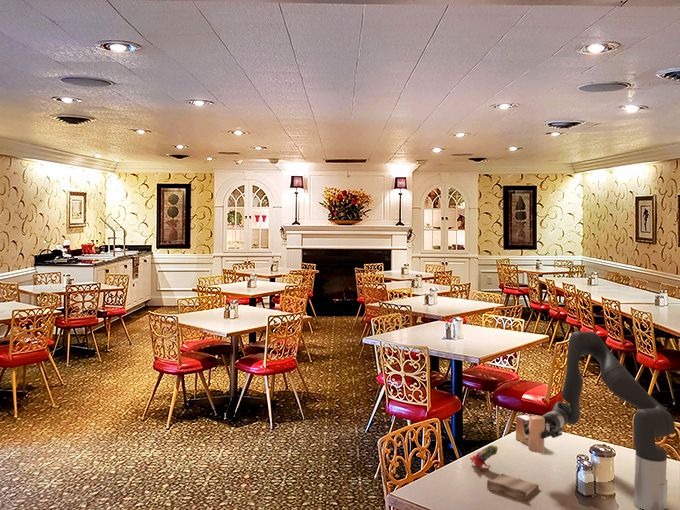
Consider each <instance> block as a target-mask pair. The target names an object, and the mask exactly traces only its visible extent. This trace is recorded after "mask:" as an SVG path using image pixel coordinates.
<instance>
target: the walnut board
mask: <svg viewBox="0 0 680 510" xmlns="http://www.w3.org/2000/svg"><path fill="white" fill-rule="evenodd" d="M486 481H487V483H486V489H487V488H489V489H488V490H490V489H492V490H491V491H493V490H494V491H493V492H497V493H499V494H503V495H506V496H509V497H512V498H515V497H516V498H515V499H518V498H519V499H518V500H521V499H522V501H524V500H525V501H526V500H528V499H529V498H530V497H531V496H532V495H534V494H535V493H536V492H537V491H538V490H539V484H537V483H533V482H530V481H528V480H523V479H520V478H517V477H513V476H510V475H507V474H504V473H501V474H499V475H498V476H496V477H495V478H494V479H487V480H486Z"/></svg>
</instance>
